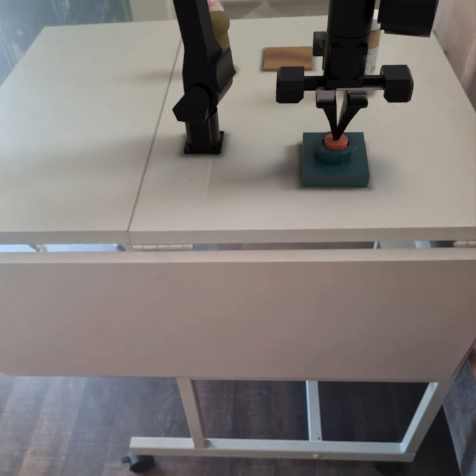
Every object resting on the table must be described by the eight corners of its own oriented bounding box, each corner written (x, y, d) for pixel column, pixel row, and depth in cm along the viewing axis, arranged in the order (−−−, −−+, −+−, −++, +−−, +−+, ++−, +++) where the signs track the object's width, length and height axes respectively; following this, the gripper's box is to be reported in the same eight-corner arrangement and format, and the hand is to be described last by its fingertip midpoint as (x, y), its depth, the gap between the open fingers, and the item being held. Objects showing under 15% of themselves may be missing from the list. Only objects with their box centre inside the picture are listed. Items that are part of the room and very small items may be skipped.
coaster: (311, 70, 98) (312, 67, 98) (263, 70, 99) (263, 68, 99) (311, 48, 104) (311, 46, 104) (265, 49, 105) (265, 47, 105)
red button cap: (347, 155, 74) (348, 145, 73) (323, 155, 75) (324, 145, 73) (345, 142, 77) (347, 132, 75) (323, 142, 77) (324, 132, 76)
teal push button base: (367, 187, 74) (371, 164, 71) (302, 187, 75) (303, 164, 72) (361, 143, 81) (365, 121, 78) (302, 143, 82) (303, 122, 79)
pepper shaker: (222, 81, 97) (218, 21, 89) (200, 74, 100) (193, 15, 91) (240, 69, 100) (237, 10, 92) (218, 62, 103) (213, 4, 94)
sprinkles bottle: (358, 83, 94) (369, 5, 83) (376, 91, 92) (390, 12, 81) (342, 91, 92) (352, 13, 82) (360, 99, 90) (372, 20, 79)
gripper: (414, 3, 66) (391, 111, 78) (278, 7, 68) (277, 112, 80) (426, 37, 59) (399, 150, 72) (276, 41, 61) (275, 150, 73)
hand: (335, 138), depth 74 cm, fingers closed, pressing on red button cap
